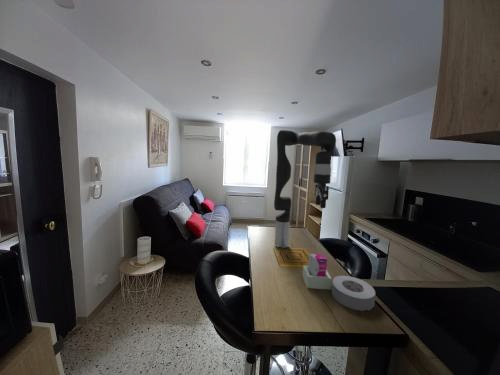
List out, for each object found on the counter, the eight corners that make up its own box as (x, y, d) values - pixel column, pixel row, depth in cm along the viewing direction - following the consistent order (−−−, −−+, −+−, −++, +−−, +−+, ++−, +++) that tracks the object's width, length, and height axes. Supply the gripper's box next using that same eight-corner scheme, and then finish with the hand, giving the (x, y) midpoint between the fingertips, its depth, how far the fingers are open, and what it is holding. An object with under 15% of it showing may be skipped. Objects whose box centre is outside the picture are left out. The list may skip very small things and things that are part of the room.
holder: (302, 275, 93) (303, 265, 92) (323, 276, 92) (324, 266, 92) (307, 287, 83) (307, 276, 82) (330, 289, 82) (331, 278, 82)
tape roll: (363, 317, 67) (364, 303, 66) (324, 294, 79) (324, 282, 79) (381, 301, 76) (382, 289, 76) (343, 282, 88) (344, 271, 88)
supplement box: (313, 284, 84) (315, 259, 83) (307, 277, 89) (308, 253, 88) (325, 283, 85) (327, 258, 84) (318, 276, 90) (320, 252, 89)
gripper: (311, 173, 101) (309, 203, 103) (318, 173, 87) (316, 208, 88) (325, 173, 101) (323, 204, 102) (335, 174, 86) (333, 209, 88)
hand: (320, 206), depth 95 cm, fingers open, 8 cm apart
